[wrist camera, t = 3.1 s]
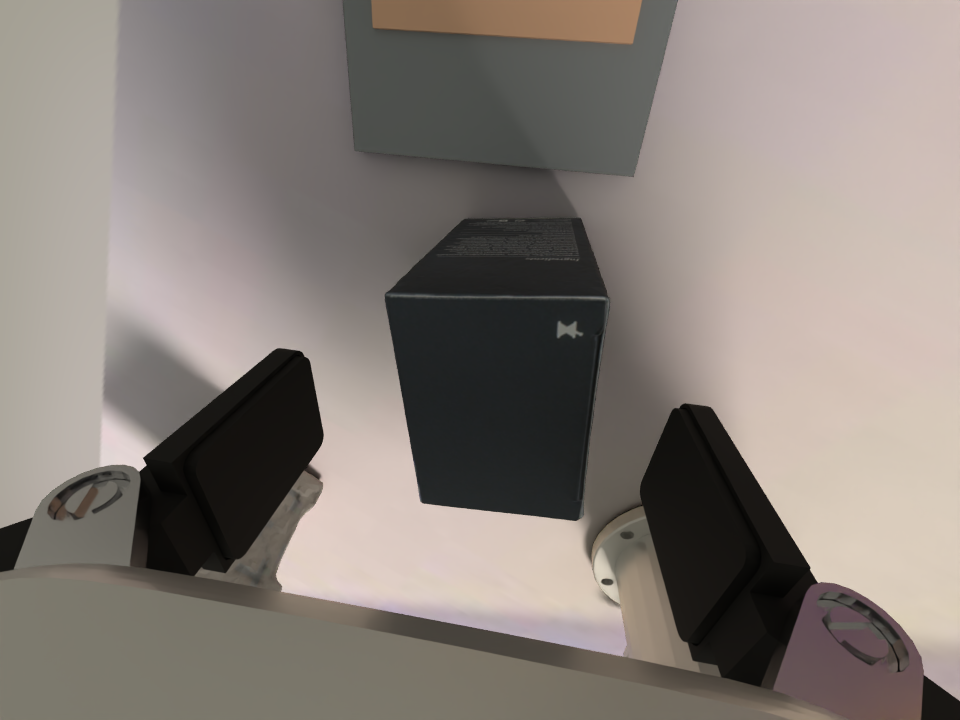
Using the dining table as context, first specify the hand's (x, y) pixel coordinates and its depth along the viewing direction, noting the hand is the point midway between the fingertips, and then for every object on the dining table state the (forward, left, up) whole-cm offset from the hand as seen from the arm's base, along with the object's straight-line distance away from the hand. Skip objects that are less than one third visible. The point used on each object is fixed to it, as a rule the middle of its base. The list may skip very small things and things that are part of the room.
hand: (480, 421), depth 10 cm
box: (-1, 0, -11) cm, 11 cm away
